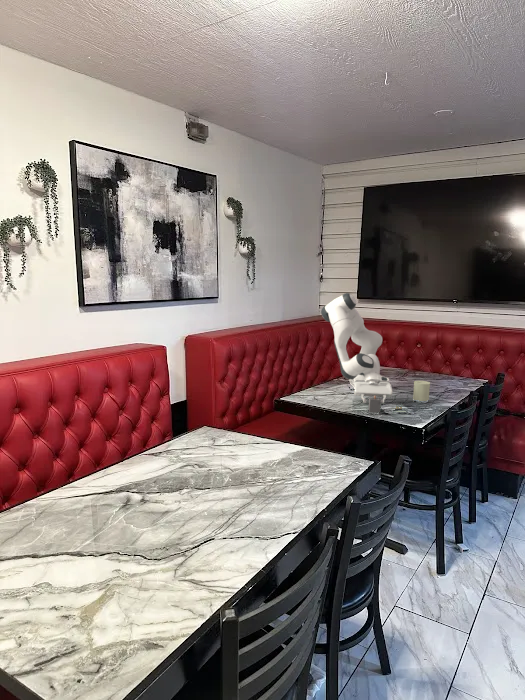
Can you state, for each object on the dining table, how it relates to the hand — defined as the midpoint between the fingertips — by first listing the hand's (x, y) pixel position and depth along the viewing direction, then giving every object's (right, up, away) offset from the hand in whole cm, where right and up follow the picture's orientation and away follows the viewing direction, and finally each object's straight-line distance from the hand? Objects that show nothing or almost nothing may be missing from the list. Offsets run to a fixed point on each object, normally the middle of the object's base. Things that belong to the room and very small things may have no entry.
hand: (373, 402), depth 245 cm
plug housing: (0, -6, 0) cm, 6 cm away
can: (+34, -2, +26) cm, 43 cm away
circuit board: (+13, -5, +7) cm, 16 cm away
